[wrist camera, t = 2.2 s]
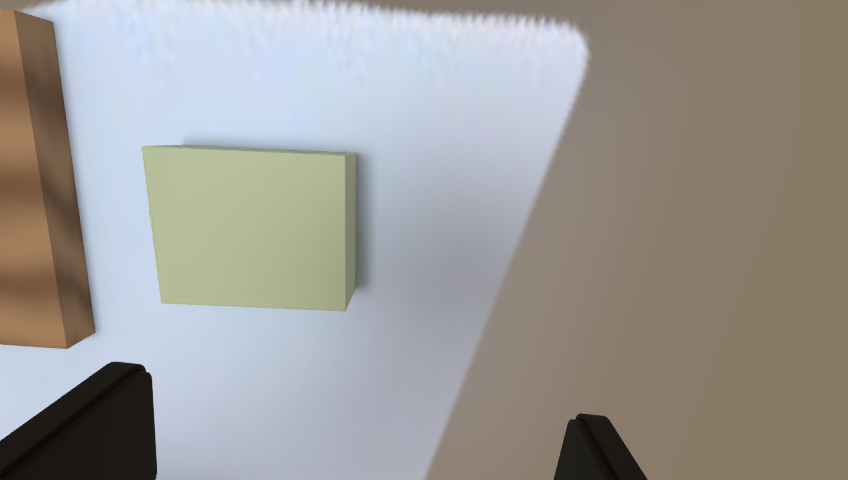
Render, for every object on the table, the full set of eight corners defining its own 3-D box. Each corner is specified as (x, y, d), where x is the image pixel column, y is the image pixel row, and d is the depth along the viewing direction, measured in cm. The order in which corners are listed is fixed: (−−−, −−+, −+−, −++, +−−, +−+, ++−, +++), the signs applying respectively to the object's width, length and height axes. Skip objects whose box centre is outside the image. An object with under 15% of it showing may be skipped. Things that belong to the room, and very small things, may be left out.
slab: (356, 286, 31) (345, 311, 26) (198, 279, 30) (161, 303, 26) (357, 153, 28) (344, 155, 24) (185, 144, 28) (141, 146, 24)
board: (99, 329, 32) (66, 348, 29) (-3, 322, 32) (-47, 341, 29) (59, 24, 26) (13, 9, 23) (-65, 13, 26) (-126, -2, 23)
